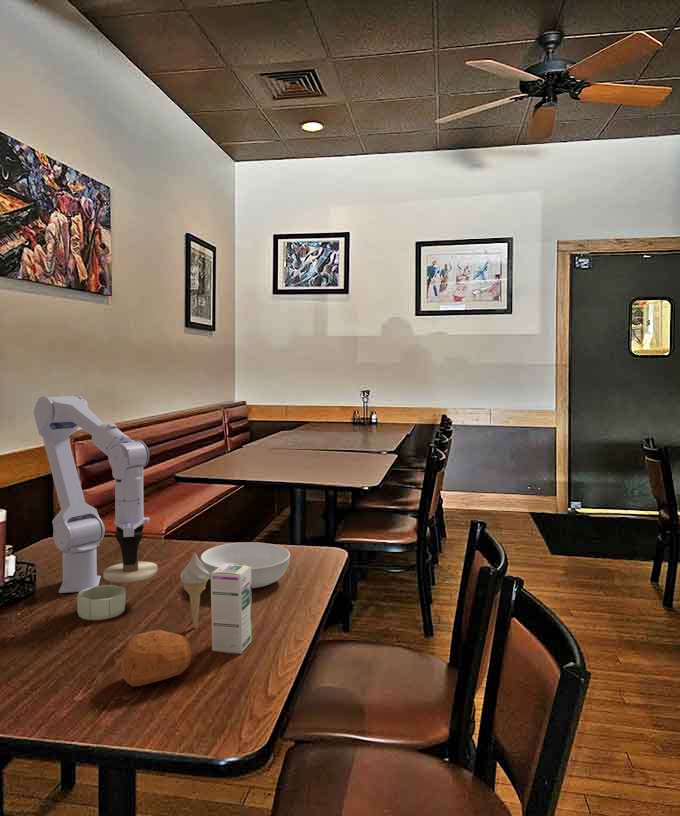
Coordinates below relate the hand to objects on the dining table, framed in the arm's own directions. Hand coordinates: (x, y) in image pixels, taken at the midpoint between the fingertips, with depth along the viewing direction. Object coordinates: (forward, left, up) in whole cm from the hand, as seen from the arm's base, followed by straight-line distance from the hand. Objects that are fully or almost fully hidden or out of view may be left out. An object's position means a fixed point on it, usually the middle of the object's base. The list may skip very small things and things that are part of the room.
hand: (129, 561), depth 137 cm
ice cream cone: (+17, +13, -9) cm, 23 cm away
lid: (0, 0, -3) cm, 3 cm away
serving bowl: (-7, +26, -9) cm, 28 cm away
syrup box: (+27, +19, -9) cm, 34 cm away
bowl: (+4, -5, -9) cm, 11 cm away
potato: (+36, +6, -9) cm, 37 cm away
